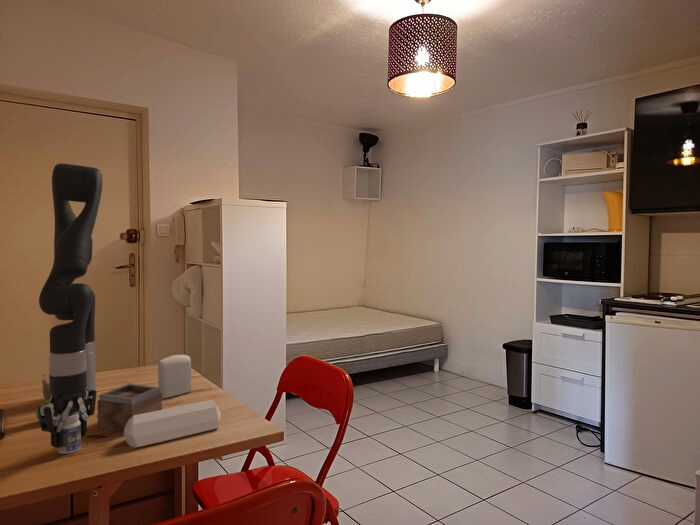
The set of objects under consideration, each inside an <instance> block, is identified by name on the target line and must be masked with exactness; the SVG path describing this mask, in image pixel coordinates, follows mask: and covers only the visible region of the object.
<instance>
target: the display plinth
mask: <svg viewBox="0 0 700 525" xmlns="http://www.w3.org/2000/svg"><path fill="white" fill-rule="evenodd" d="M98 395H99V397H98V398H99V399H98V400H97V428H99V429H100V428H101V429H105V430H106V429H107V430H112V431H116V432H117V431H118V432H123V433H124V428H125V426H126V424H127V422H128V420H129V419H130V418H131V417H132V416H134V415H138V414H143V413H148V412H153V411H158V410H163V404H162V403H163V402H162V401H163V399H162V393H160V388H159V387H158V386H150V385H144V384H143V385H142V384H136V383H127V384H124V385H122V386H119V387H117V388H114V389H111V390H108V391H106V392H103V393H100V394H98Z"/></svg>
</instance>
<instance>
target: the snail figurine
mask: <svg viewBox="0 0 700 525" xmlns="http://www.w3.org/2000/svg"><path fill="white" fill-rule="evenodd" d="M47 376H48V375H47V374H41V377H42V381H41V384H42V386H41V387H42V388H41V389H42V396H43V400H44V402H42V403H41V404H40V405H39V406H45V405H47V404H49V403H50V401H51V398H52V395H51V393H50V391H49V380H47ZM44 377H45V378H44ZM52 411H53V409H52ZM35 416H36V418H37V420H38V421H39V422H40V420H39V414H38V407H37V409H36V411H35ZM59 416H60V415H59V414H58V417H59Z"/></svg>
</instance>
